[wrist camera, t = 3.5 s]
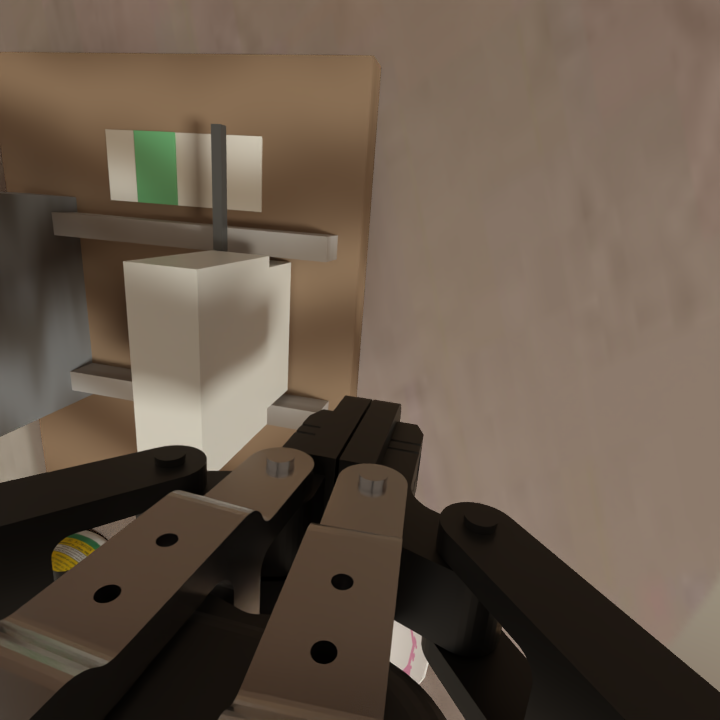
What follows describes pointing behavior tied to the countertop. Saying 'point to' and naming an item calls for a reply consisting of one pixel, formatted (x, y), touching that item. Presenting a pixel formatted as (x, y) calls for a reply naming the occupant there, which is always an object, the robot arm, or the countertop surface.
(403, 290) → the countertop surface
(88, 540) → the supplement bottle
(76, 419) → the gauge board
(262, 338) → the gauge slider
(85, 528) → the robot arm
